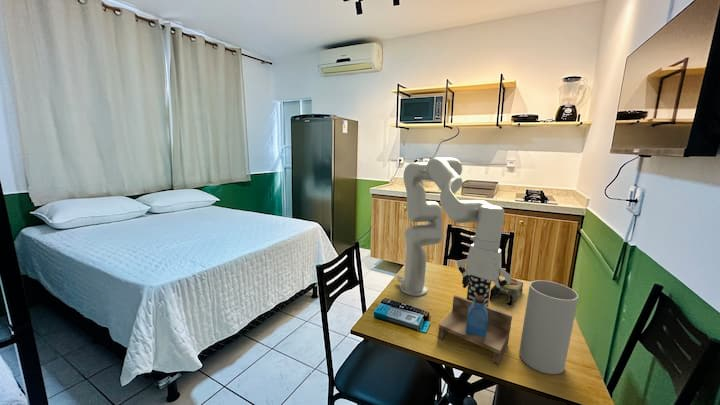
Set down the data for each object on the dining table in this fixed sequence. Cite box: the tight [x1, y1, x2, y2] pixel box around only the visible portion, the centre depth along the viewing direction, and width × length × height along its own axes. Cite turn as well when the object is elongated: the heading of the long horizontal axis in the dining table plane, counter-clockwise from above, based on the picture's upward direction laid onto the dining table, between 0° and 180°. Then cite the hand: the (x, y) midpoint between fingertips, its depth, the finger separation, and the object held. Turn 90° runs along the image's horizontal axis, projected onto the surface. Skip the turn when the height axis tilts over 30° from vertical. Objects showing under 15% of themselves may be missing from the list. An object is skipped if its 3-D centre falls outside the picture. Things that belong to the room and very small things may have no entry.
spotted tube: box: [466, 274, 492, 307], centre depth 118 cm, size 8×8×20 cm
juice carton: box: [489, 276, 524, 307], centre depth 135 cm, size 20×10×6 cm, turn 139°
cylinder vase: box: [518, 279, 579, 375], centre depth 91 cm, size 12×12×25 cm
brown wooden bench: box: [437, 294, 513, 367], centre depth 101 cm, size 20×13×12 cm, turn 51°
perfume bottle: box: [466, 296, 488, 338], centre depth 98 cm, size 6×6×12 cm
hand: (479, 291), depth 97 cm, fingers open, 9 cm apart
